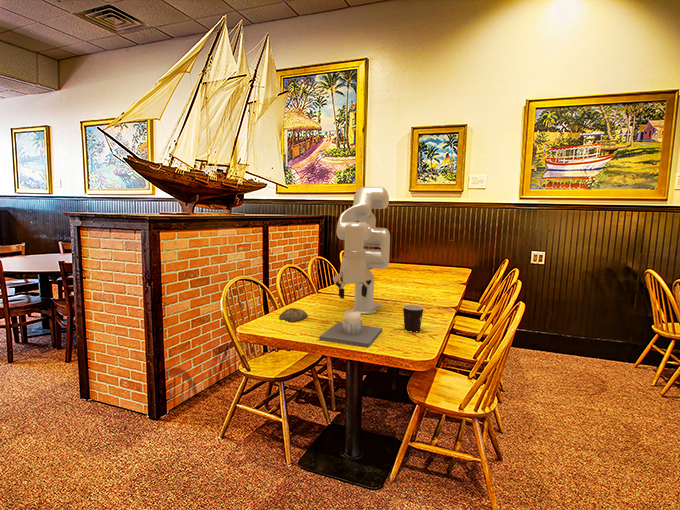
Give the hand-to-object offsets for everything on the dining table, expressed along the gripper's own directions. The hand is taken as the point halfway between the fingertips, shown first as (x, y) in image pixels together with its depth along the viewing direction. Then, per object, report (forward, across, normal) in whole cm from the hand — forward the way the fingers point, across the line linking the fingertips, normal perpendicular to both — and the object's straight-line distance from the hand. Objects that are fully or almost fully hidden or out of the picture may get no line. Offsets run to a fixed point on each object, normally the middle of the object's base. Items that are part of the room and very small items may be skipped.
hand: (352, 297), depth 148 cm
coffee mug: (+16, -26, +2) cm, 31 cm away
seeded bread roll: (+17, +17, -32) cm, 40 cm away
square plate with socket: (+16, 0, 0) cm, 16 cm away
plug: (+14, 0, 0) cm, 14 cm away
